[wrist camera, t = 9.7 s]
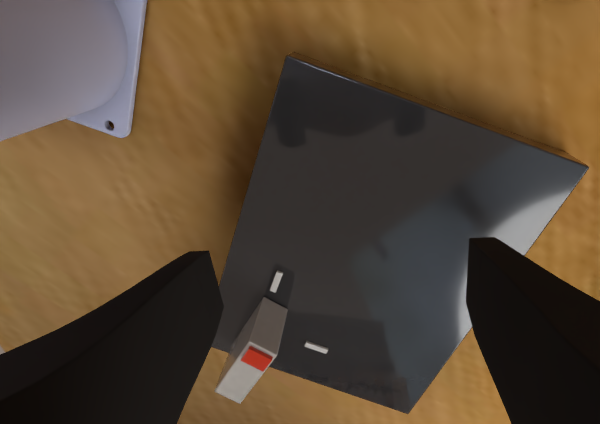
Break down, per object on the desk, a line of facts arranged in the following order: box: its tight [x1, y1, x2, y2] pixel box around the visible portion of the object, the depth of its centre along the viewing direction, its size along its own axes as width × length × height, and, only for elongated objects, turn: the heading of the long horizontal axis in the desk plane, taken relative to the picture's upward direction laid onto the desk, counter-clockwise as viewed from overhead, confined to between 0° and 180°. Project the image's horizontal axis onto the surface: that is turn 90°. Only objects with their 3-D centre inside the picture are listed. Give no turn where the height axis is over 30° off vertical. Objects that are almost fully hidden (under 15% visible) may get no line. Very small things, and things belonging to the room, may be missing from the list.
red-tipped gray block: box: [215, 297, 288, 404], centre depth 22 cm, size 4×2×4 cm, turn 151°
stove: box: [211, 52, 589, 414], centre depth 22 cm, size 15×19×2 cm
